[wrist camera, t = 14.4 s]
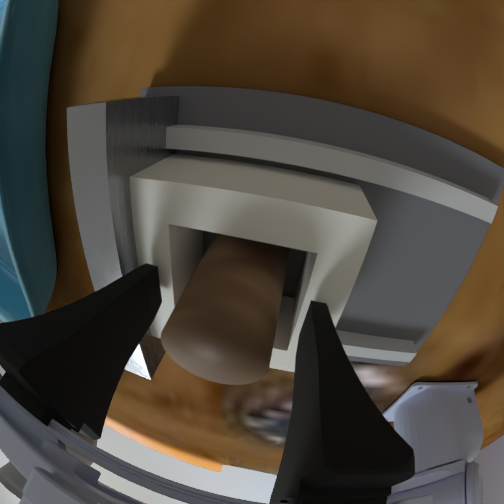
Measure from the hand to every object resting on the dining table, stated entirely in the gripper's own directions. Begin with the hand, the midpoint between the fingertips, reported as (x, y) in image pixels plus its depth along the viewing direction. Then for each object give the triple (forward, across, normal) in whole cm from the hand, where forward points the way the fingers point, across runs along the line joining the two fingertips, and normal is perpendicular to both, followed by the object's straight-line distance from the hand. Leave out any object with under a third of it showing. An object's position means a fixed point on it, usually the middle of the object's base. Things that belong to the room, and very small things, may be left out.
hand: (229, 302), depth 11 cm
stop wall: (+5, +5, 0) cm, 7 cm away
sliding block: (+4, 0, 0) cm, 4 cm away
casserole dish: (+6, +25, -5) cm, 26 cm away
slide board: (+5, -3, 0) cm, 6 cm away
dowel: (+4, 0, 0) cm, 5 cm away
